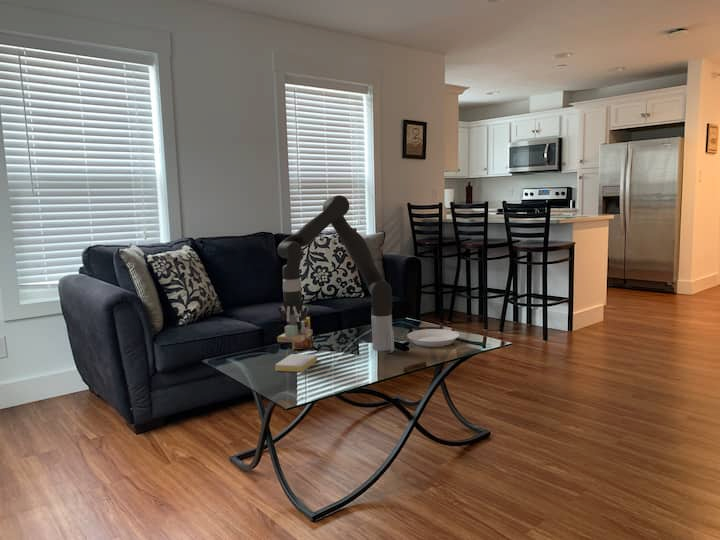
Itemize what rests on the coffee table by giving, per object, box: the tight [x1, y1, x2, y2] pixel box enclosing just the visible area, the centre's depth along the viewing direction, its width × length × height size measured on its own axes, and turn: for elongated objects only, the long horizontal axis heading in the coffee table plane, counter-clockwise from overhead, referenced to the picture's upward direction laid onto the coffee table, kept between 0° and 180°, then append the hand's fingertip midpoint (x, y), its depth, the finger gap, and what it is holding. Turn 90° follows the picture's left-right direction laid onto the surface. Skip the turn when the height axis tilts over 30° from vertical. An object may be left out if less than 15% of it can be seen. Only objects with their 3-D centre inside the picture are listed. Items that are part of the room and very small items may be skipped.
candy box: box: [291, 316, 312, 350], centre depth 266 cm, size 9×4×15 cm, turn 98°
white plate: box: [406, 328, 460, 348], centre depth 268 cm, size 25×25×4 cm
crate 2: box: [300, 321, 305, 333], centre depth 236 cm, size 4×4×4 cm
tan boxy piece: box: [276, 314, 314, 343], centre depth 232 cm, size 14×10×10 cm
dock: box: [274, 353, 318, 373], centre depth 234 cm, size 12×16×4 cm
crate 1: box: [284, 324, 298, 337], centre depth 229 cm, size 4×4×4 cm
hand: (294, 330), depth 232 cm, fingers closed on tan boxy piece, 3 cm apart
